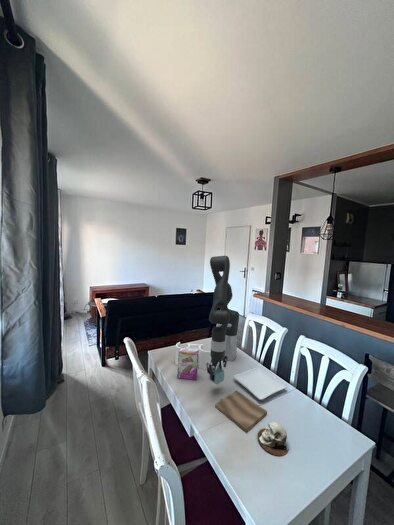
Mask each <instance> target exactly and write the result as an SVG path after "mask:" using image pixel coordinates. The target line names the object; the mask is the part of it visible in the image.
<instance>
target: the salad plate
mask: <svg viewBox="0 0 394 525" xmlns="http://www.w3.org/2000/svg"><path fill="white" fill-rule="evenodd" d="M232 377H233V379H234V380H235V381H236V382H237V383H239V384H240V385H241V386H242V387H244V388H245V389H246V390H247V391H248V392H250V393H251V394H252V395H253V396H254V397H255V398H256V399H257V400H259V401H264V400H265V399H266V398H268V397H271V396H273V395H274V394H276V393H278V392H281V391H283V390H286V389H287V388H288V386H287V385H286V384H284V382H282V381H280V380H279V379H277V378H276V377H274V376H273V375H272V374H270V373H268V372H267V371H266V370H264V369H263V368H261V367H260V366H256V367H254V368H251V369H248V370H245V371H242V372H239V373H236V374H234V375H233V376H232Z"/></svg>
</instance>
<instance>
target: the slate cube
mask: <svg viewBox="0 0 394 525" xmlns="http://www.w3.org/2000/svg"><path fill="white" fill-rule="evenodd" d="M214 368H215V367H214ZM212 371H213V370H212ZM208 377H209V378H208V380H209V381H210V382H212V383H213V384H215V385H216V386H218V385H219V384H220V383H222V382H224V381H225V370H224V369H223V370H222V369H221V368H219V366H218V367H217V370H216V371H215V379H214V381H212V380H211V379H210V374H209V373H208Z"/></svg>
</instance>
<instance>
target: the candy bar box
mask: <svg viewBox="0 0 394 525" xmlns="http://www.w3.org/2000/svg"><path fill="white" fill-rule="evenodd" d="M198 356H199V350H198V349H189V348H186V347H180V350H179V359H178V366H177V379H183V380H190V381H191V380H192V381H197V378H198V370H199V367H198Z"/></svg>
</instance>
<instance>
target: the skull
mask: <svg viewBox="0 0 394 525" xmlns="http://www.w3.org/2000/svg"><path fill="white" fill-rule="evenodd" d="M287 433H288V432H287V430H286V429H285V427H283V425H282V424H280V423H279V422H276V421H272V422H268V426H266V427H265V428H261V429H260V430H259V431H257V436H256V437H257V442H258V443H259V444H260V446H261V447H262V448H263V450H265V451H266V452H267V453H270V454H271V455H274V456H279V457H280V456H282V457H283V456H285V455H287V454H288V452H289V450H290V448H288V447H287V445H285V443H286V441H287V439H288V438H287V437H288V434H287Z"/></svg>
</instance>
